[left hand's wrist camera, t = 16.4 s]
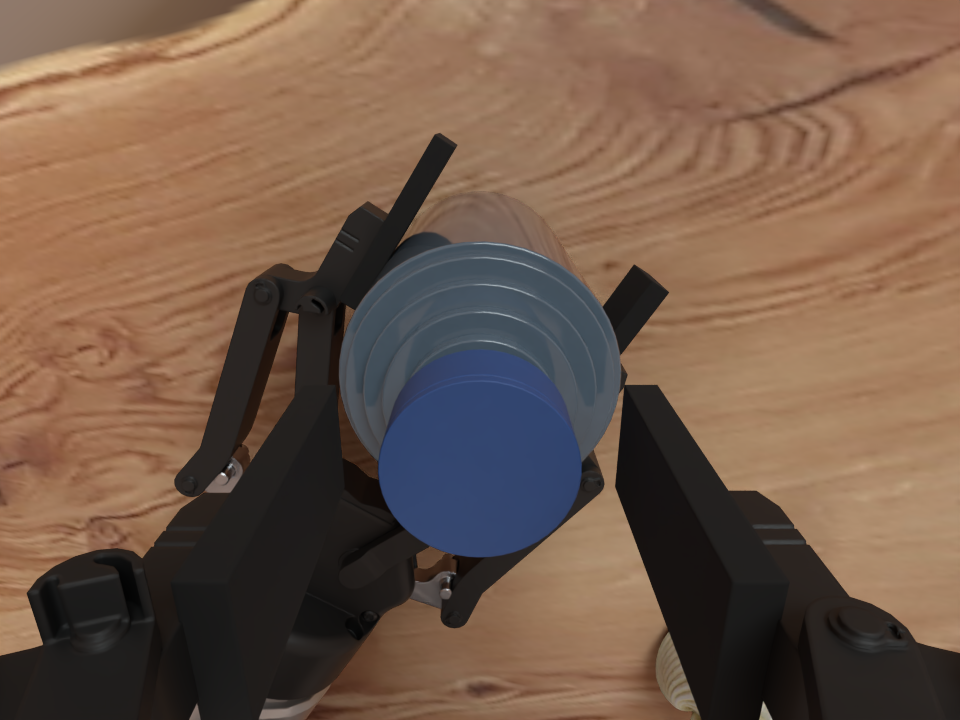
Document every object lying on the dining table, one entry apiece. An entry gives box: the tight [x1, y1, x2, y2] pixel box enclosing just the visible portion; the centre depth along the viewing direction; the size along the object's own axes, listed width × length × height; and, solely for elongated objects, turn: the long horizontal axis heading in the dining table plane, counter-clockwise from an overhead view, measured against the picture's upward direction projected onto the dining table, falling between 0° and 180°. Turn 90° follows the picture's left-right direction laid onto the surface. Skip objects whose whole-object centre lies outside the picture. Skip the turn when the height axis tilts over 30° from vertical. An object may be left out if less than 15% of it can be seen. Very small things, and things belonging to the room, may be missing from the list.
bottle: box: [339, 192, 621, 462], centre depth 22 cm, size 8×8×17 cm
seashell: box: [656, 632, 772, 720], centre depth 35 cm, size 8×8×8 cm
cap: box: [378, 349, 582, 557], centre depth 14 cm, size 4×4×2 cm
